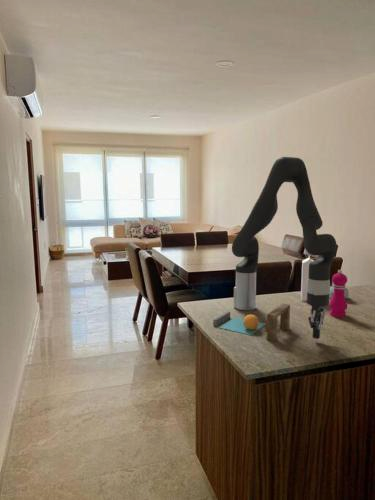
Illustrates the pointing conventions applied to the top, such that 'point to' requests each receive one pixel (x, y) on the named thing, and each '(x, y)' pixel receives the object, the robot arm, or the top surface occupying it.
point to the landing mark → (240, 326)
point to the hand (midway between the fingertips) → (316, 337)
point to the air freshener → (333, 291)
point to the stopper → (221, 318)
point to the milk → (305, 278)
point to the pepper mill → (338, 295)
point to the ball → (251, 322)
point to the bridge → (272, 320)
